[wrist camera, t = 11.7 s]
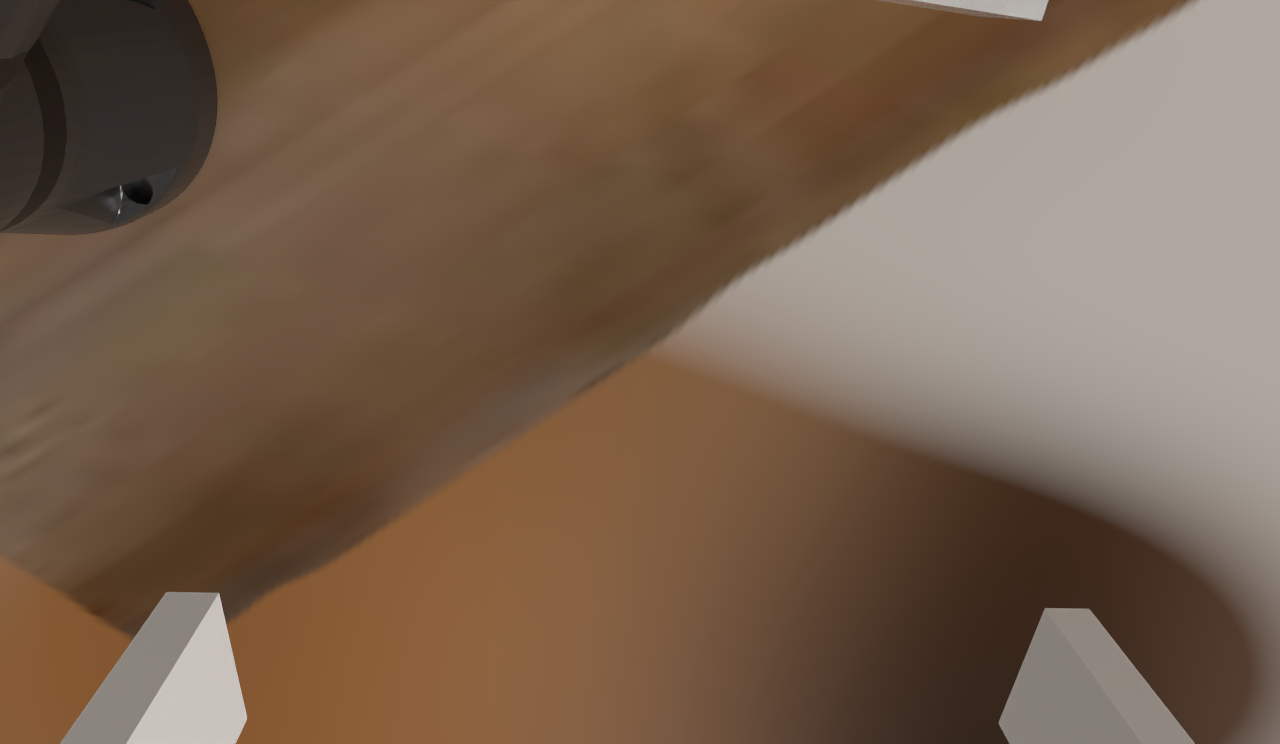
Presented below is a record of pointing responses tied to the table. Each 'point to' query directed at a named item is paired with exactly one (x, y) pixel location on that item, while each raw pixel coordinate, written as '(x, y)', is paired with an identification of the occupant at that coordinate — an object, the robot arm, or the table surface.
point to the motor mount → (985, 7)
